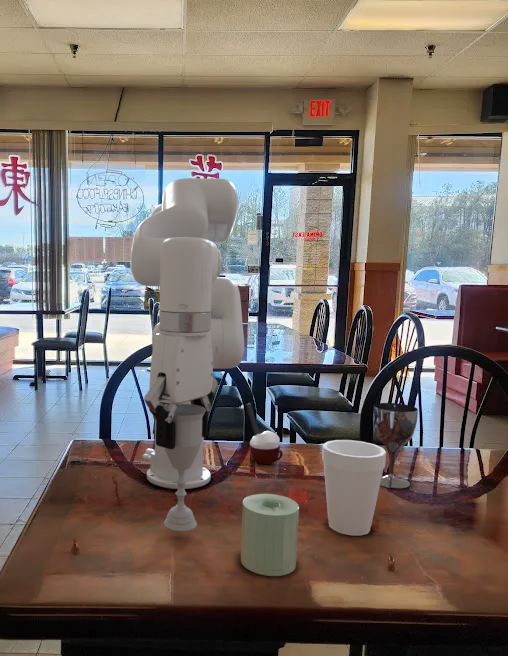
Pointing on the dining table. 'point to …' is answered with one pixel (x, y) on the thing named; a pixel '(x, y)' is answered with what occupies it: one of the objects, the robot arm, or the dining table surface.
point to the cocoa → (263, 442)
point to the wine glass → (394, 434)
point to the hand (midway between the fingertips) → (182, 440)
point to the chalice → (184, 460)
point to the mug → (269, 534)
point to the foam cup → (352, 484)
